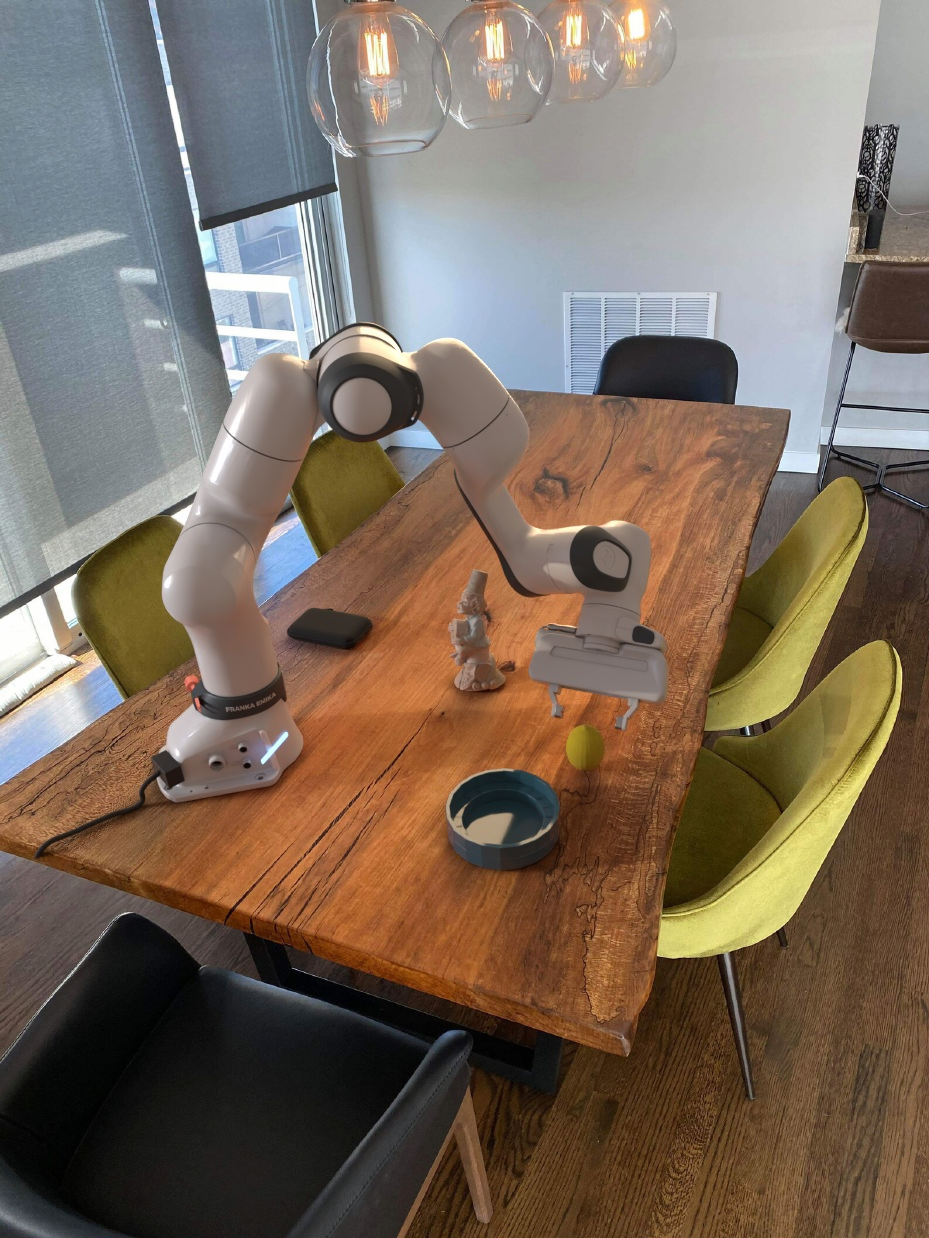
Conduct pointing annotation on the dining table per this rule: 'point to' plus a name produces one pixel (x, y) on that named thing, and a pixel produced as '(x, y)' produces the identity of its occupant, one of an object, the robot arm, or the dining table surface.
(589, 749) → the lemon
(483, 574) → the figurine
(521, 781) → the bowl
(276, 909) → the dining table surface
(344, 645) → the carrying case
